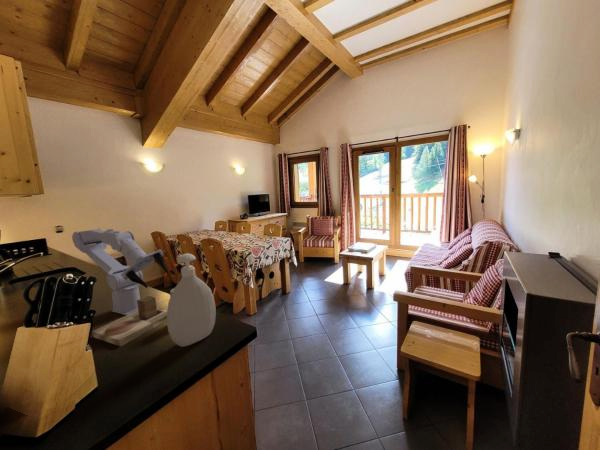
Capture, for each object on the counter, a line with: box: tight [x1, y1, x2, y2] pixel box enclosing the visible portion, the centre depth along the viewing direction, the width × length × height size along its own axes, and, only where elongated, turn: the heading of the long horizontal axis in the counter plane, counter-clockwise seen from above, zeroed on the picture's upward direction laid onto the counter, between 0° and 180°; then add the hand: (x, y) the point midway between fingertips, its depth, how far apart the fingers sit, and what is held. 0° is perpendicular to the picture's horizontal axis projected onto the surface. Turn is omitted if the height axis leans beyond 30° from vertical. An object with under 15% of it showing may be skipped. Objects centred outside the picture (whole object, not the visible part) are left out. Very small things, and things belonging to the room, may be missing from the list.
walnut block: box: [137, 295, 158, 321], centre depth 90 cm, size 4×4×8 cm
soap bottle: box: [166, 252, 217, 348], centre depth 76 cm, size 14×8×27 cm, turn 138°
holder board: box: [91, 307, 168, 347], centre depth 87 cm, size 14×19×2 cm
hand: (156, 278), depth 88 cm, fingers open, 7 cm apart
